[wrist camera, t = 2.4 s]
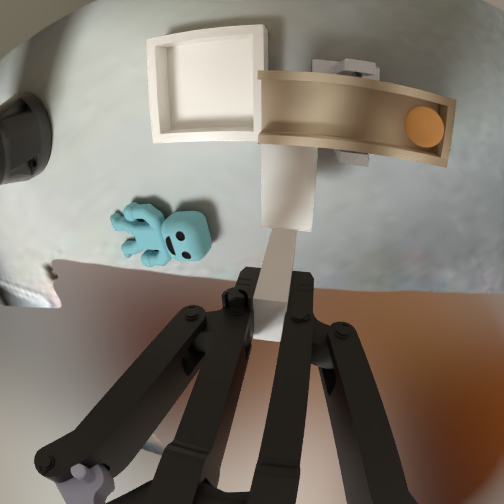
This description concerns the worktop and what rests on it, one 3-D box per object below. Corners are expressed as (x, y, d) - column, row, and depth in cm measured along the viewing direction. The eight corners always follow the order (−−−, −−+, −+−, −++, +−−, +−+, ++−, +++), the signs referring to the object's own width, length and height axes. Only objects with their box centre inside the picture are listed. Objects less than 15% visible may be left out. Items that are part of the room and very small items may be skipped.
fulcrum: (309, 145, 29) (310, 165, 22) (312, 59, 24) (314, 49, 17) (402, 157, 27) (430, 182, 21) (410, 75, 22) (443, 74, 15)
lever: (262, 223, 27) (257, 237, 25) (262, 72, 19) (257, 70, 17) (415, 238, 24) (424, 253, 22) (442, 97, 17) (456, 100, 15)
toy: (97, 214, 35) (185, 208, 30) (119, 199, 39) (204, 191, 34) (121, 271, 41) (206, 280, 35) (139, 254, 44) (221, 258, 39)
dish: (167, 136, 31) (153, 143, 28) (161, 42, 25) (146, 39, 22) (268, 135, 29) (263, 141, 26) (268, 30, 23) (263, 24, 20)
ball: (397, 138, 19) (410, 147, 17) (400, 100, 18) (415, 103, 15) (431, 145, 19) (447, 155, 16) (435, 109, 17) (453, 114, 14)
